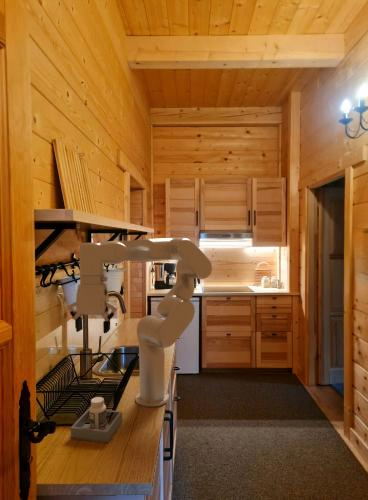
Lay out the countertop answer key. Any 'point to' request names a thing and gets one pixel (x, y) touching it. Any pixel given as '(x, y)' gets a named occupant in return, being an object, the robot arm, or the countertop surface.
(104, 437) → the bin
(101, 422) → the pill bottle
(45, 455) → the countertop surface
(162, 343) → the robot arm
